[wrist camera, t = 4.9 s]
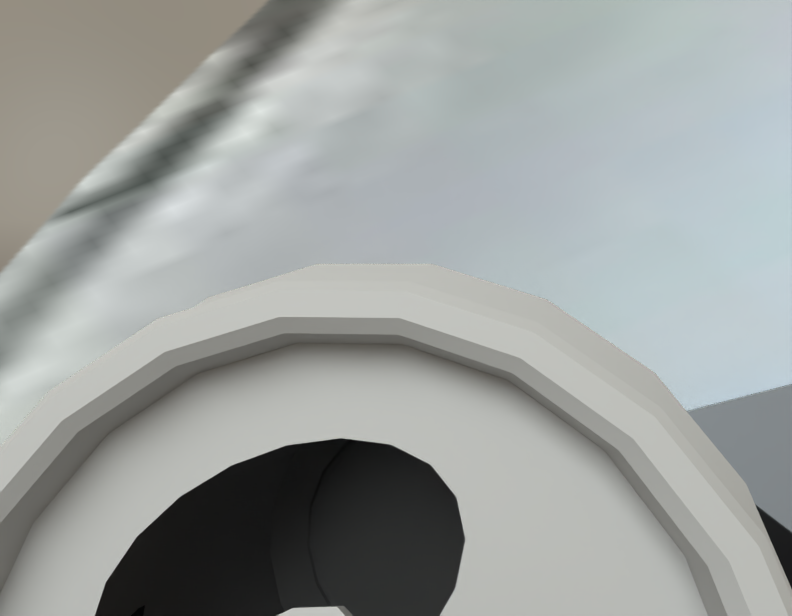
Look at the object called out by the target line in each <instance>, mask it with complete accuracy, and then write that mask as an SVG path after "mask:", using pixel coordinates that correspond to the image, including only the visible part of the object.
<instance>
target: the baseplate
mask: <svg viewBox="0 0 792 616" xmlns="http://www.w3.org/2000/svg"><path fill="white" fill-rule="evenodd" d="M687 412H688V414H689V415H690V416H691V417H692V419H693V420H694V421H695V422H696V423H697V425H698V426H699V427H700V428H701V430H702V431H703V432H704V433H705V434H706V436H707V437H708V438H709V439H710V440H711V442H712V443H713V444H714V445H715V447H716V448H717V449H718V450H719V451H720V453H721V454H722V455H723V456H724V457H725V459H726V460H727V461H728V462H729V464H730V465H731V466H732V467H733V468H734V470H735V471H736V472H737V473H738V475H739V476H740V477H741V478H742V479H743V481H744V482H745V483H746V485H747V487H748V489H749V492H750V494H751V496H752V499H753V501H754V503H755V504H756V505H757V506H759V507H760V508H761V509H763V510H764V511H765V512H766V513H768V514H769V515H770V516H772V517H773V518H774V519H776V520H777V521H778V522H780V523H781V524H782V525H783V526H785V527H786V528H787V529H789V530H790V531H791V532H792V384H790V385H786V386H782V387H778V388H774V389H770V390H767V391H763V392H759V393H755V394H751V395H747V396H743V397H739V398H736V399H732V400H728V401H724V402H720V403H716V404H712V405H708V406H705V407H701V408H697V409H693V410H689V411H687Z"/></svg>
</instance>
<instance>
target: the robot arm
mask: <svg viewBox="0 0 792 616" xmlns="http://www.w3.org/2000/svg"><path fill="white" fill-rule="evenodd" d="M755 505H756V504H755ZM756 508H757V510H758V512H759V515H760V517H761V519H762V522H763V524H764V526H765V529H766V531H767V533H768V536H769V538H770V540H771V542H772V545H773V547H774V549H775V552H776V554H777V556H778V559H779V561H780V563H781V566H782V568H783V570H784V573H785V575H786V577H787V579H788V582H789V584H790V586H791V589H792V532H791V531H790V530H789V529H787V528H786V527H785V526H783V525H782V524H781V523H780V522H778V521H777V520H776V519H774V518H773V517H772V516H770V515H769V514H768V513H766V512H765V511H764V510H763V509H761V508H760V507H759V506H757V505H756ZM144 609H145V605H144V606H142V607H140V608H138V609H137V610H136V611H135V612H134V613H133V614H132V615H131V616H143V615H144Z"/></svg>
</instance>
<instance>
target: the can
mask: <svg viewBox="0 0 792 616" xmlns="http://www.w3.org/2000/svg"><path fill="white" fill-rule="evenodd" d="M144 605H145V609H144V615H143V616H792V589H791V586H790V584H789V582H788V579H787V577H786V575H785V573H784V570H783V568H782V566H781V563H780V561H779V559H778V556H777V554H776V552H775V549H774V547H773V545H772V542H771V540H770V538H769V536H768V533H767V531H766V529H765V526H764V524H763V522H762V519H761V517H760V515H759V512H758V510H757V508H756V505H755V503H754V501H753V499H752V496H751V494H750V492H749V489H748V487H747V485H746V483H745V482H744V481H743V479H742V478H741V477H740V476H739V475H738V473H737V472H736V471H735V470H734V468H733V467H732V466H731V465H730V464H729V462H728V461H727V460H726V459H725V457H724V456H723V455H722V454H721V453H720V451H719V450H718V449H717V448H716V447H715V445H714V444H713V443H712V442H711V440H710V439H709V438H708V437H707V436H706V434H705V433H704V432H703V431H702V430H701V428H700V427H699V426H698V425H697V423H696V422H695V421H694V420H693V419H692V417H691V416H690V415H689V414H688V412H687V411H686V410H685V409H684V408H683V406H682V405H681V404H680V403H679V402H678V400H677V399H676V398H675V397H674V395H673V394H672V393H671V392H670V391H669V389H668V388H667V387H666V386H665V385H664V383H663V382H662V381H661V380H660V378H659V377H658V376H657V375H656V374H655V373H654V372H653V371H651V370H650V369H648V368H647V367H646V366H644V365H643V364H641V363H640V362H638V361H637V360H635V359H634V358H632V357H631V356H629V355H628V354H626V353H625V352H623V351H622V350H620V349H619V348H618V347H616V346H615V345H613V344H612V343H610V342H609V341H607V340H606V339H604V338H603V337H601V336H600V335H598V334H597V333H595V332H594V331H592V330H591V329H590V328H588V327H587V326H585V325H584V324H582V323H581V322H579V321H578V320H576V319H575V318H573V317H572V316H570V315H569V314H567V313H566V312H564V311H563V310H562V309H560V308H559V307H557V306H556V305H554V304H553V303H551V302H550V301H548V300H547V299H543V298H540V297H537V296H534V295H530V294H527V293H524V292H521V291H518V290H514V289H511V288H508V287H505V286H501V285H498V284H495V283H492V282H489V281H485V280H482V279H479V278H476V277H472V276H469V275H466V274H463V273H460V272H456V271H453V270H450V269H447V268H443V267H440V266H437V265H434V264H315V265H312V266H309V267H306V268H302V269H299V270H296V271H293V272H289V273H286V274H283V275H280V276H276V277H273V278H270V279H267V280H263V281H260V282H257V283H254V284H250V285H247V286H244V287H241V288H237V289H234V290H231V291H228V292H224V293H221V294H218V295H215V296H212V297H208V298H207V299H205V300H204V301H202V302H201V303H199V304H198V305H196V306H195V307H193V308H190V309H187V310H184V311H180V312H177V313H174V314H171V315H167V316H164V317H161V318H158V319H156V320H155V321H153V322H152V323H150V324H149V325H147V326H146V327H144V328H143V329H141V330H140V331H138V332H137V333H135V334H134V335H132V336H131V337H129V338H128V339H126V340H125V341H123V342H122V343H120V344H119V345H117V346H116V347H114V348H113V349H111V350H110V351H108V352H107V353H105V354H104V355H102V356H101V357H99V358H98V359H96V360H95V361H93V362H92V363H90V364H89V365H87V366H86V367H84V368H83V369H81V370H80V371H78V372H77V373H75V374H74V375H72V376H71V377H69V378H68V379H66V380H65V381H63V382H62V383H60V384H59V385H57V386H56V387H54V388H53V389H51V390H50V391H48V392H47V393H46V394H45V396H44V397H43V398H42V399H41V400H40V401H39V403H38V404H37V405H36V406H35V407H34V408H33V409H32V411H31V412H30V413H29V414H28V415H27V416H26V418H25V419H24V420H23V421H22V422H21V423H20V424H19V426H18V427H17V428H16V429H15V430H14V431H13V433H12V434H11V435H10V436H9V437H8V438H7V439H6V441H5V442H4V443H3V444H2V445H1V446H0V616H131V615H132V614H133V613H134V612H135V611H136V610H137V609H138V608H140V607H142V606H144Z"/></svg>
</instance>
